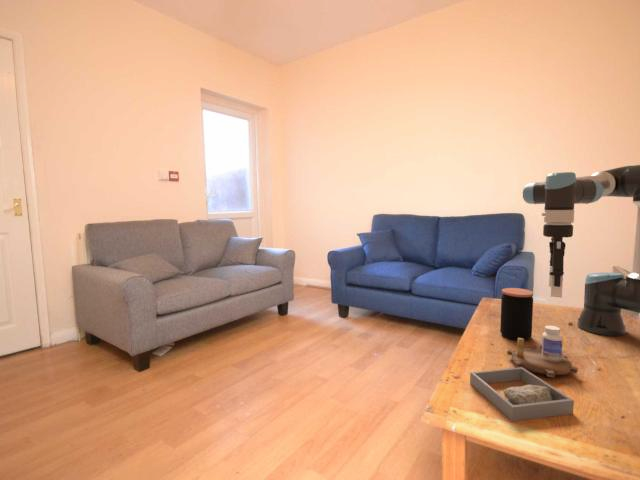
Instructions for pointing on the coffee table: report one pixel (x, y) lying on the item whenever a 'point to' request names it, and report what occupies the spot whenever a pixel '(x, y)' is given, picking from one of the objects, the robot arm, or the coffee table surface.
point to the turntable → (539, 361)
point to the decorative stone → (527, 394)
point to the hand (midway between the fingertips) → (554, 291)
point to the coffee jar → (516, 313)
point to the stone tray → (521, 411)
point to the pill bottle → (552, 343)
